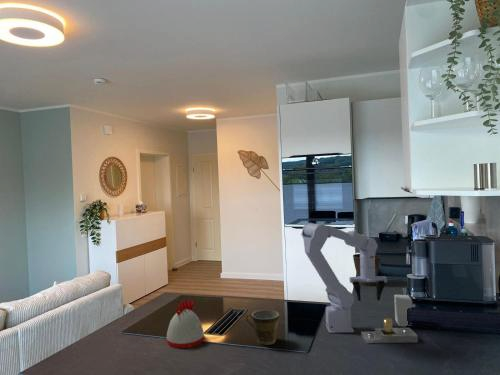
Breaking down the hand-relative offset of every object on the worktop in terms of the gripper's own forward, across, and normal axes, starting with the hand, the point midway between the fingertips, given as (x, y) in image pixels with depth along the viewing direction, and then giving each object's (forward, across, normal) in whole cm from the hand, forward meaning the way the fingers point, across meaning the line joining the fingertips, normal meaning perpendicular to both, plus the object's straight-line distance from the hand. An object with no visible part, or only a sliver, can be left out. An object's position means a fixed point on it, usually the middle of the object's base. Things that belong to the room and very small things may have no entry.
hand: (368, 299), depth 155 cm
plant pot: (+10, +14, +61) cm, 63 cm away
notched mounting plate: (+9, +3, -16) cm, 19 cm away
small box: (+10, +14, 0) cm, 17 cm away
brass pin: (+9, +3, -16) cm, 19 cm away
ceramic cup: (+10, -43, -17) cm, 47 cm away
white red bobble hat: (+10, -72, -15) cm, 74 cm away
